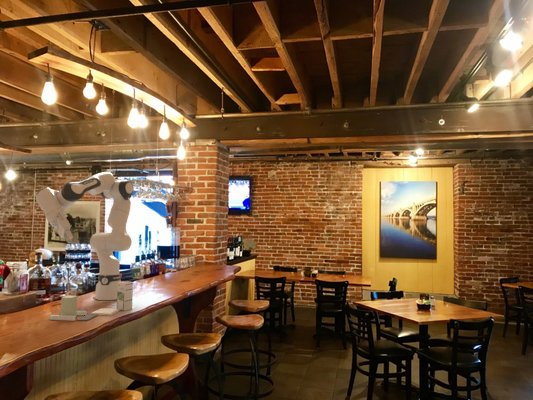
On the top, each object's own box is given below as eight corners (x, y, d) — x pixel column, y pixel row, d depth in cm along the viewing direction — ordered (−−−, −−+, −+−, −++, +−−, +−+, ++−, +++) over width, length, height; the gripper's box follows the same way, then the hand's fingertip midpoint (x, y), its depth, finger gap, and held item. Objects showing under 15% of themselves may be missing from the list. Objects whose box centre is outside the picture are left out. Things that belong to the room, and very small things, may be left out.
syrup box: (132, 309, 210) (133, 281, 211) (123, 311, 205) (124, 283, 206) (125, 307, 213) (126, 280, 214) (116, 309, 208) (117, 281, 209)
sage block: (66, 316, 193) (67, 295, 193) (76, 316, 193) (77, 295, 193) (60, 318, 188) (61, 297, 188) (70, 318, 188) (71, 297, 188)
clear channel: (63, 314, 196) (63, 310, 196) (98, 315, 195) (98, 311, 195) (50, 319, 185) (50, 315, 185) (87, 321, 184) (87, 316, 184)
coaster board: (100, 310, 206) (100, 308, 206) (119, 311, 205) (119, 309, 205) (91, 314, 196) (91, 312, 196) (110, 315, 195) (110, 313, 195)
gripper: (64, 208, 194) (79, 233, 194) (62, 219, 211) (75, 241, 211) (51, 214, 191) (66, 239, 190) (50, 224, 207) (63, 247, 207)
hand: (71, 240), depth 201 cm, fingers open, 8 cm apart
